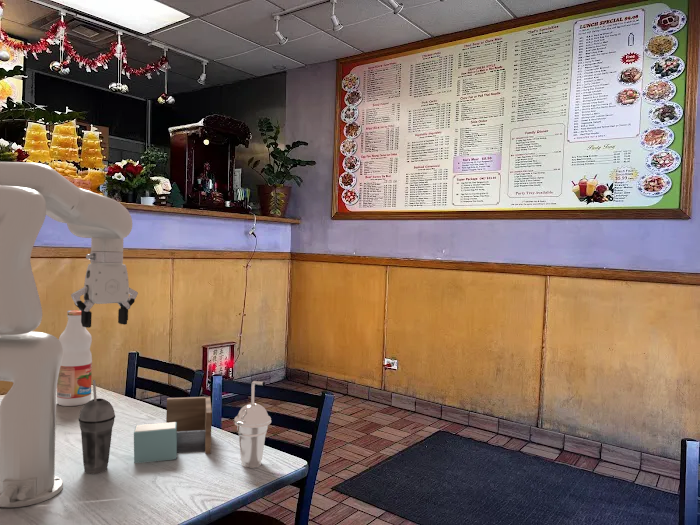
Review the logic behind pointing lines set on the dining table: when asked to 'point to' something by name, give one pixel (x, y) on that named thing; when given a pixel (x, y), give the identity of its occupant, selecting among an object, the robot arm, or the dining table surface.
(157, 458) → the pale teal block
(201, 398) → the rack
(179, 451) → the dark grey rectangular block
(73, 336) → the fruit juice
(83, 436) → the beverage cup
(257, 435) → the cup with straw
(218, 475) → the dining table surface
